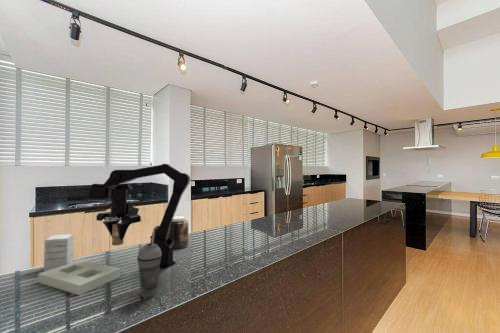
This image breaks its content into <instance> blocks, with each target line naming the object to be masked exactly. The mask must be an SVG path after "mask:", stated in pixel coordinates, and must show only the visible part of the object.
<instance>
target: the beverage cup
mask: <svg viewBox="0 0 500 333" xmlns="http://www.w3.org/2000/svg"><path fill="white" fill-rule="evenodd" d="M152 233H153V236H152V235H151V236H152V243H151V242H150V243H146V244H144V245H143V246H142V247H141V248H140V249H139V251H138V254H137V258H136V260H137V263H138V264H137V266H138V273H139V287H140V289H139V290H140V296H141V297H142V296H143V297H142V298H151V297H154V296H155V295H156V294H157V292H158V291H157V290H158V287H159V286H158V285H159V276H160V262H161V257H162V253H161V249H160V248H159V246H158V245H156V244H154V243H153V241H154V234H155V230H153V229H152Z"/></svg>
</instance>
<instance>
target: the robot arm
mask: <svg viewBox="0 0 500 333" xmlns="http://www.w3.org/2000/svg"><path fill="white" fill-rule="evenodd" d="M162 174H163V175H164V174H165V176H167V177H168V178H170V179H171V180H172V181H173V183H172V193H171V196H170V199H169V201H168V204H167V206H166V209H165V212H164V214H163V217H162V219H161V221H160V223H159V225H157V226H155V227H154V228H153V229H152V231H153V230H155V234H154V241H153V243H154V244H156V245H158V246H159V248H160V249H161V253H162V257H161V262H160V268H161V269H166V268H168V267H170V266H172V265H174V264H176V261H175V260H174V250H173V249H172V248H171V247H172V246H173V244H174V241H173V240H172V239H171V238H169V234H170V226H171V223H172V220H173V217H174V216H175V214H176V212H177V209H178V208H179V207H178V206H179V204H180V201H181V199H182V196H183V195H184V193H185V191H186V190H187V188H188V186H189V184H190V182H191V177H190V175H189V174H188V173H185V172H181V171H179V170H177V169H176V168H174V167H173V166H171V165H170V164H168V163H162V164H159V165H153V166H148V167H141V168H137V169H136V168H135V169H115V170H112V171H111V172H110V174H109V177H108V178H107V179H106V181H105V182H104V183H103V184H102V183H92V184H91V188H90V189H89V192H88V199H89V200H90V201H93V202H95V201H101V202H102V201H109V199H110V202H109V203H108V205H107V206H108V207H110V211H103V212H99V213H97V215H96V221H99V222H102V224H103V225H104V226H105V228H106V230H107V232H109V235H110V237H112V227H113V224H116V223H118V224H117V228H118V233H119V237H120V240H122V239H123V240H124V238H125V236H126V234H127V231H128V229H129V227H130V225H133V224H136V223H139V222H142V221H141V220H142V219H141V218H142V216H141V215H140V214H139V210H140V208H138V207H135V206H132V205H131V204H130V202H128V190H133V189H134V187H132V185H130V183H129V182H132V181H135V180H137V179H141V178H145V177H147V178H148V177H150V176H151V177H152V176H156V175H162ZM123 184H124V185H123ZM103 220H104V221H103ZM152 236H153V232H152V233H151V236H150V237H149V239H150V243H152ZM160 268H159V269H160Z"/></svg>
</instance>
